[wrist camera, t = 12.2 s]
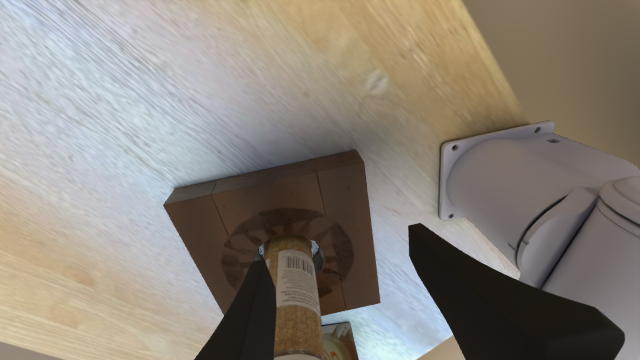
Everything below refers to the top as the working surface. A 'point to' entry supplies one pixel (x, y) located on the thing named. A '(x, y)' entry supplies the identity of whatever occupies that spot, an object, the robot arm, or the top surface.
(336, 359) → the coffee box
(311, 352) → the sprinkles bottle
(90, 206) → the top surface
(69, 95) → the top surface
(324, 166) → the holder
